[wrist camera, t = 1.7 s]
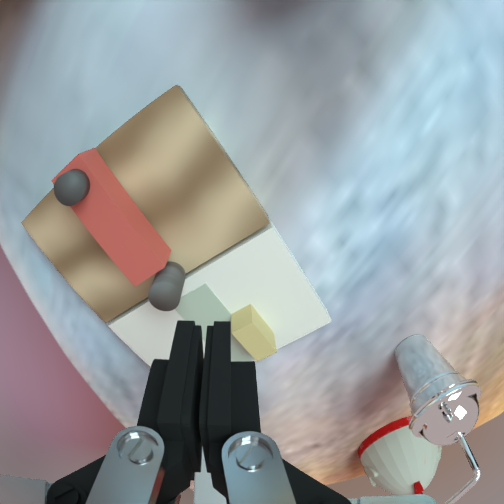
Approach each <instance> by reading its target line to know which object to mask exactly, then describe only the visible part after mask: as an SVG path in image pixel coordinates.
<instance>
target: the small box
mask: <svg viewBox="0 0 504 504" xmlns="http://www.w3.org/2000/svg"><path fill="white" fill-rule="evenodd" d="M194 504H227V503H226V498H225V497H224V496H223V495H222V494H220V493H219V492H218V491H217V490H216V489H214V488H213V485H212V479H211V473H207V469H206V464H205V458H204V453H203V447H202V463H201V472H195V481H194Z"/></svg>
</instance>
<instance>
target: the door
mask: <svg viewBox="0 0 504 504" xmlns="http://www.w3.org/2000/svg"><path fill="white" fill-rule="evenodd" d="M269 222H270V223H269V224H268V225H266V226H264V227H263V228H261V229H259V230H257V231H256V232H254V233H252V234H251V235H249V236H247V237H246V238H244V239H242V240H241V241H239V242H237V243H236V244H234V245H232V246H231V247H229V248H227V249H226V250H224V251H222V252H221V253H219V254H217V255H216V256H214V257H213V258H211V259H209V260H208V261H206V262H204V263H203V264H201V265H199V266H198V267H196V268H194V269H193V270H191V271H189V272H188V273H187V274H186V278H185V282H184V286H183V290H182V294H181V298H180V302H179V305H178V306H177V307H176V308H175V309H174V310H171V311H161V310H158V309H156V308H155V307H153V306H152V305H151V303H150V302H149V299H148V297H147V298H145V299H144V300H142V301H140V302H139V303H137V304H136V305H134V306H132V307H131V308H129V309H128V310H126V311H124V312H123V313H121V314H119V315H118V316H116V317H115V318H113V319H111V321H110V323H109V325H108V327H109V328H110V329H111V330H112V331H113V332H114V333H115V334H116V335H117V336H118V337H119V338H120V339H121V340H122V341H123V342H124V343H126V344H127V345H128V346H129V347H130V348H131V349H132V350H133V351H134V352H135V353H136V354H137V355H138V356H139V357H140V358H141V359H142V360H143V361H144V362H146V363H147V364H148V365H149V366H150V367H151V365H152V362H153V360H154V359H167V360H169V356H170V352H171V347H172V342H173V338H174V333H175V329H176V324H177V321H178V320H186V321H195V325H201V328H202V341H203V354H204V353H205V343H206V332H207V325H209V326H214V321H231V361H254V360H256V361H259V360H261V359H263V358H266V357H268V356H270V355H272V354H274V353H276V352H277V349H279V348H281V347H283V346H285V345H287V344H289V343H291V342H293V341H295V340H297V339H299V338H301V337H303V336H305V335H307V334H309V333H311V332H313V331H315V330H316V329H318V328H320V327H322V326H324V325H326V324H328V323H330V322H331V321H332V320H331V318H330V315H329V313H328V310H327V309H326V307H325V305H324V304H323V302H322V300H321V299H320V297H319V296H318V294H317V292H316V291H315V289H314V288H313V286H312V284H311V283H310V281H309V280H308V278H307V276H306V275H305V273H304V272H303V270H302V268H301V267H300V265H299V264H298V262H297V260H296V259H295V257H294V256H293V254H292V253H291V251H290V249H289V248H288V246H287V245H286V243H285V242H284V240H283V238H282V237H281V235H280V234H279V232H278V231H277V229H276V228H275V226H274V224H273V223H272V221H271V220H269Z"/></svg>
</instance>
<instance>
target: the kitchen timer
mask: <svg viewBox="0 0 504 504" xmlns="http://www.w3.org/2000/svg"><path fill="white" fill-rule="evenodd" d="M411 417H412V416H409V417H405V418H402V419H399V420H397V421H394V422H392V423H390V424H388V425H386V426H384V427H382V428H380V429H379V430H377V431H376V432H374V433H373V434H371V435H370V436H369V437H368V438H367V439H365V440H364V441H363V442H362V444H361V445H360V447H359V450H358V454H359V457H360V461H361V463H362V465H363V467H364V471H365V473H366V474H367V476H368V478H369V480H370V482H371V484H372V485H373V487H375V486H376V485H378V486H379V487H381V488H382V489H384V490H385V491H387V492H389V493H391V494H393V495H397V496H401V495H415V494H423V493H422V491H424V489H425V488H426V487H427V486H428V485H429V483H430V482H431V480H432V479H433V477H434V474H435V472H436V469H437V465H438V461H439V460H440V457H441V451H442V447H441V446H437V445H433V444H431V443H429V442H427V441H426V440H425V439H423V438H419V437H416V436H414V435H413V434H412V432H411V431H410V430H409V421H410V419H411Z"/></svg>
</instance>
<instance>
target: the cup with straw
mask: <svg viewBox="0 0 504 504" xmlns="http://www.w3.org/2000/svg"><path fill="white" fill-rule="evenodd" d="M394 357H395V359H396V361H397V365H398V368H399V371H400V374H401V377H402V380H403V383H404V386H405V388H406V391H407V394H408V398H409V401H410V408H411V414H412V417H411V419H410V421H409V430H410V431H411V432H412V434H413V435H414V436H416V437H419V438H423V439H425V440H426V441H427V442H429V443H431V444H433V445H437V446H446V445H451V444H454V443H457V442H459V443H460V445H461V447H462V449H463V451H464V453H465V455H466V457H467V459H468V462H469V464H470V466H471V468H472V470H473V473H474V476H473V478H472V479H471V480H470V481H469V482H468V483H467V484H466V485H465V486H464V487H463V488H462V489H461V490H460V491H458V492H457V493H456V494H455V495H454V496H453V497H452V498H450V499H449V500H448V501H447V502H446V503H445V504H453V503H454V502H456V501H457V500H458V499H459V498H460V497H462V496H463V495H464V494H465V493H466V492H467V491H468V490H469V489H470V488H472V487H473V486H474V485H475V484H476V483H477V482H478V480H479V478H480V474H481V470H480V467H479V465H478V463H477V461H476V459H475V457H474V455H473V453H472V451H471V449H470V447H469V445H468V443H467V441H466V439H465V437H466V436H467V435H468V434H469V433H470V431H471V430H472V429H473V427H474V426H475V424H476V422H477V420H478V416H479V398H480V395H481V390H480V388H479V384H478V382H477V381H476V380H472V379H466V378H465V377H464V376H462V375H461V374H460V373H459V372H458V371H456V370H455V369H454V368H453V367H452V366H451V365H450V363H449V362H448V361H447V360H446V359H445V358H444V357H443V356H442V354H441V353H440V352H439V351H438V350H437V349H436V348H435V347H434V345H433V344H432V343H431V342H430V341H428V340H427V338H426V337H425V336H424V335H421V334H416V335H412V336H410V337H408V338H406V339H405V340H403V341H402V342H401V343H400V344H399V345H398V347H397V348H396V351H395V354H394Z"/></svg>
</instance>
